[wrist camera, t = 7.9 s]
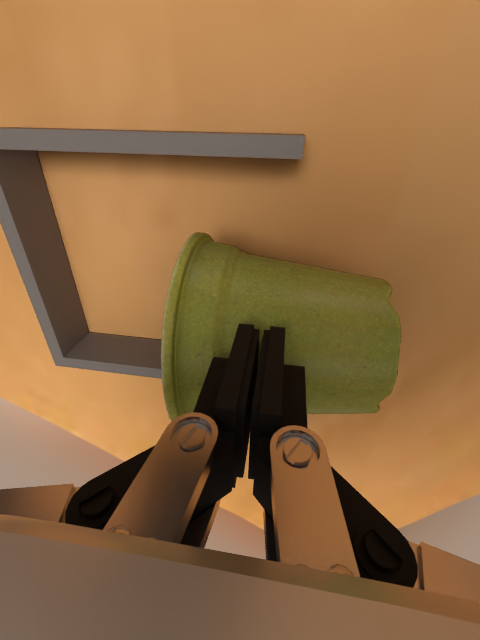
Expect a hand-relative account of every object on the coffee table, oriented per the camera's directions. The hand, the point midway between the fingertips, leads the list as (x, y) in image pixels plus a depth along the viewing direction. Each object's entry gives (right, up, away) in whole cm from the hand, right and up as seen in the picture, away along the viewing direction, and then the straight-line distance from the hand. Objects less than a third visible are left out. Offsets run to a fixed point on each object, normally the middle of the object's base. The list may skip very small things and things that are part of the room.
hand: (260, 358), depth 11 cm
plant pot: (+6, 0, +3) cm, 7 cm away
